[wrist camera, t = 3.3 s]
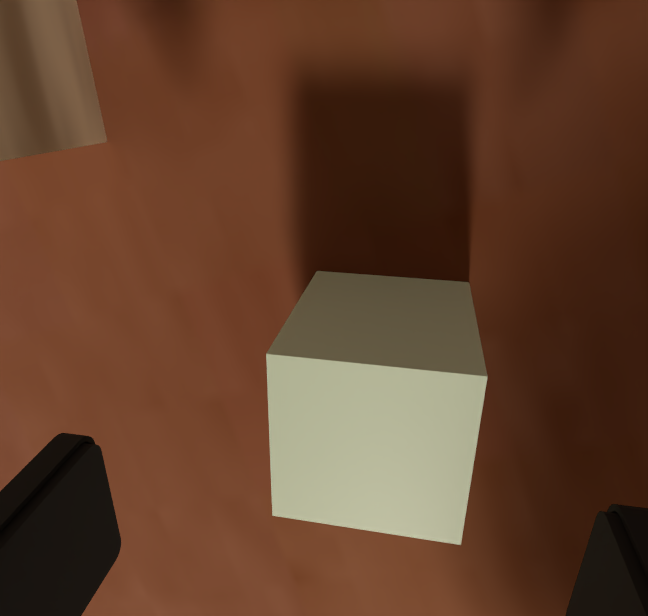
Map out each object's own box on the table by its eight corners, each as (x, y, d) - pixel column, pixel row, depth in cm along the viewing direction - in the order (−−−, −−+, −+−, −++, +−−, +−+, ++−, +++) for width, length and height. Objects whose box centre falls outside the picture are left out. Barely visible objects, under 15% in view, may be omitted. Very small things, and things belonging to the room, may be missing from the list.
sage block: (468, 281, 17) (487, 376, 11) (451, 411, 19) (460, 545, 13) (316, 270, 18) (266, 353, 12) (316, 395, 19) (272, 515, 14)
